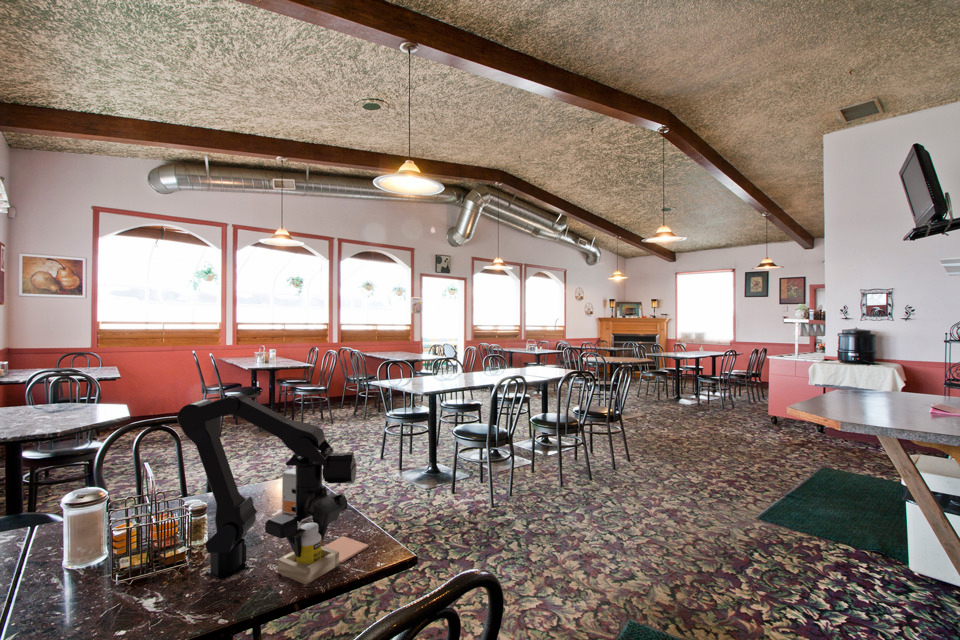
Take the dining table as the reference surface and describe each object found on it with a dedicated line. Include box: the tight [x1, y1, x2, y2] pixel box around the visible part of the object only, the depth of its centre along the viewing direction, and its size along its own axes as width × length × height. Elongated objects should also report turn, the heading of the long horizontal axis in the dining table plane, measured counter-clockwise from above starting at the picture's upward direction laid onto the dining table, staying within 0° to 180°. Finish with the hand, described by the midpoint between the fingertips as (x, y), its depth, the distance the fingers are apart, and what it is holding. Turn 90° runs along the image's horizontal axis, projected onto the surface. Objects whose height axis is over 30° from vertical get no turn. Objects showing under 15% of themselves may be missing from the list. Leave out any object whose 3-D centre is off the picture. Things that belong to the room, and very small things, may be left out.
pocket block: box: [277, 545, 340, 585], centre depth 107 cm, size 9×9×3 cm
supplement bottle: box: [296, 522, 322, 567], centre depth 107 cm, size 5×5×10 cm
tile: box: [324, 535, 369, 564], centre depth 116 cm, size 9×9×1 cm
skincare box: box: [281, 468, 296, 515], centre depth 139 cm, size 6×4×12 cm
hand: (308, 551), depth 107 cm, fingers closed on supplement bottle, 5 cm apart
